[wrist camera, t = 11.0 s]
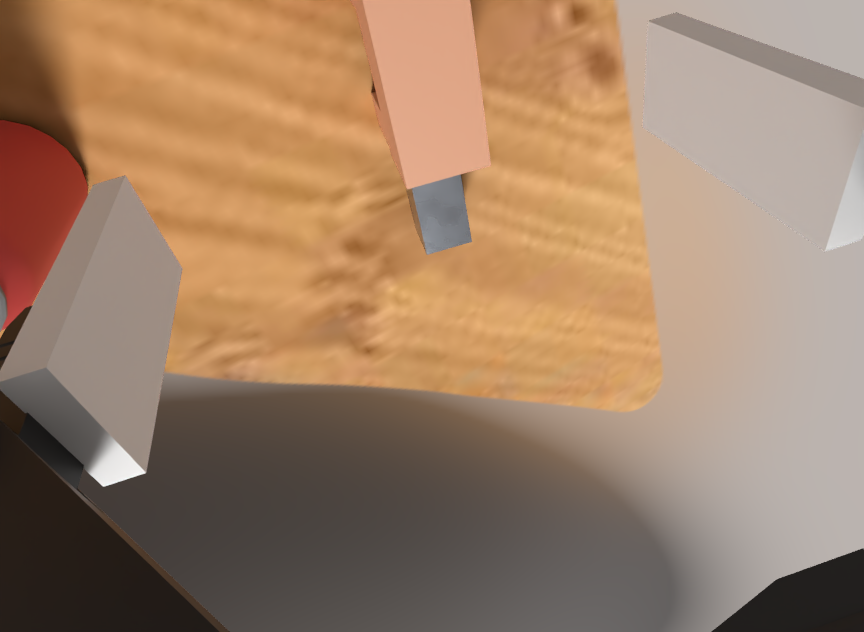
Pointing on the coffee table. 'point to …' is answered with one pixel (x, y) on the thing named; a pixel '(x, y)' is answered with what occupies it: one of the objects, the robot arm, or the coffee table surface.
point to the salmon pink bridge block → (426, 86)
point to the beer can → (33, 211)
